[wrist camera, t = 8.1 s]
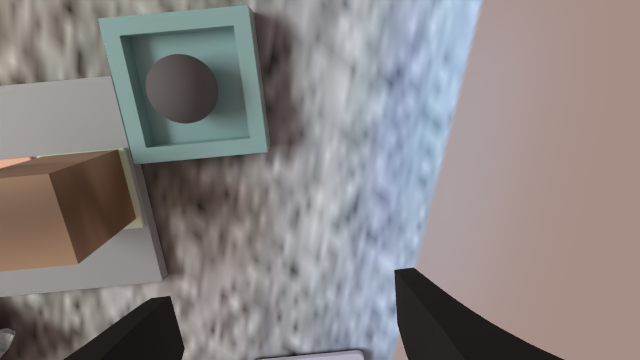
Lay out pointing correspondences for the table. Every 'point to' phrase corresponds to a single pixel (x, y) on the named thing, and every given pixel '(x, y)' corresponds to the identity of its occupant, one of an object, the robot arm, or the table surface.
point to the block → (61, 208)
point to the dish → (214, 51)
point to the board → (68, 138)
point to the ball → (182, 88)
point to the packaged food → (5, 340)
